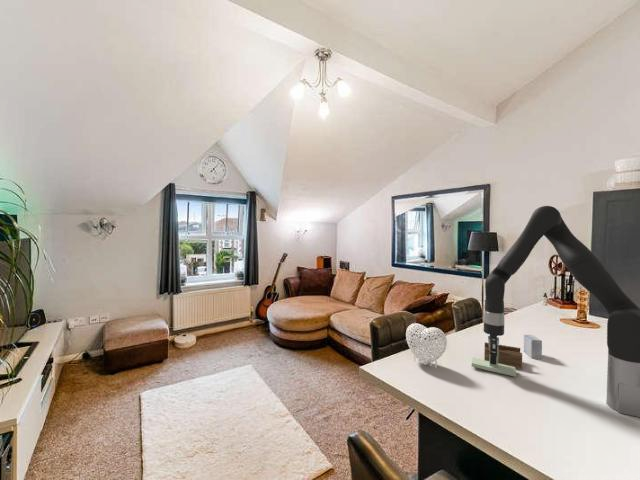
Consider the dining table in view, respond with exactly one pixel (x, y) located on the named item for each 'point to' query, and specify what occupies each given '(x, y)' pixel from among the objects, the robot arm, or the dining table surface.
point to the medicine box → (533, 346)
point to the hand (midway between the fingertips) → (492, 362)
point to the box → (506, 355)
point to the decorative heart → (426, 343)
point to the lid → (494, 366)
